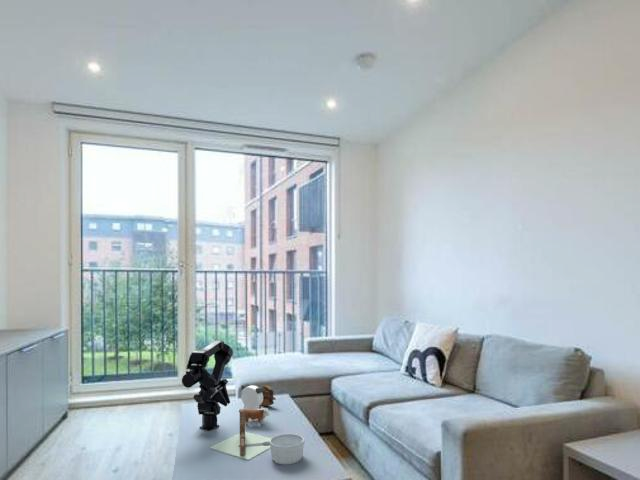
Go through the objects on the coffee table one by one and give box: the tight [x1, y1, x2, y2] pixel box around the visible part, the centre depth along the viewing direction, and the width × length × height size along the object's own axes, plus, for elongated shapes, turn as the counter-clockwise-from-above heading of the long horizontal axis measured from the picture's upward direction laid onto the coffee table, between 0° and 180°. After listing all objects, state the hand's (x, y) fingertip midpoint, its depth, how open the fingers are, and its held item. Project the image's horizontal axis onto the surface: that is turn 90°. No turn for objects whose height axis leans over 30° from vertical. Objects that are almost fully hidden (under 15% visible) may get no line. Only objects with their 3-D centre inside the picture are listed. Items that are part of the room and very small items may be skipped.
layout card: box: [209, 431, 272, 461], centre depth 171 cm, size 21×20×1 cm
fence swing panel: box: [238, 408, 246, 436], centre depth 176 cm, size 10×3×11 cm, turn 11°
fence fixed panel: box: [240, 436, 245, 456], centre depth 165 cm, size 10×2×4 cm, turn 11°
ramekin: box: [270, 433, 305, 466], centre depth 158 cm, size 13×13×7 cm
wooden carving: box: [259, 385, 276, 407], centre depth 222 cm, size 16×5×10 cm, turn 50°
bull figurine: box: [245, 407, 270, 428], centre depth 193 cm, size 4×13×8 cm, turn 78°
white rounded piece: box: [240, 383, 264, 423], centre depth 204 cm, size 12×11×15 cm
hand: (228, 404), depth 181 cm, fingers open, 3 cm apart
